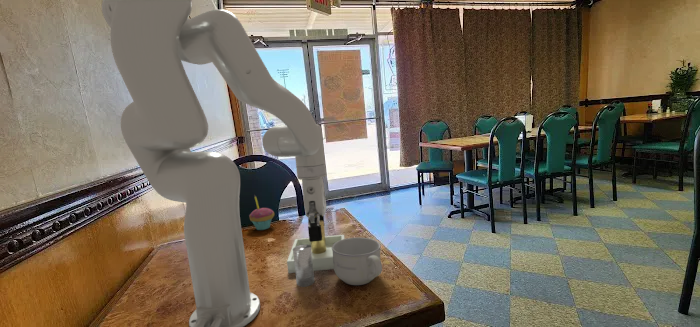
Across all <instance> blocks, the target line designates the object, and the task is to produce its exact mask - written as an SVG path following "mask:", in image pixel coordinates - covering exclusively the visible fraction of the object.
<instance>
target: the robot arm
mask: <svg viewBox="0 0 700 327" xmlns="http://www.w3.org/2000/svg"><path fill="white" fill-rule="evenodd" d="M192 7H193V0H102V2H101V13H102V16H103V18H104V20H105V23H106V24H107V25H108V26H109V28H110V34H109V35H110V46H111V53H112V56H113V59H114V62H115V64H116V67H117V70H118V71H119V74H120V76H121V78H122V80H123V83H124V84H125V86H126V89H127V91H128V93H129V95H130V97H131V99H132V100H133V101H132V102H130V103H129V104H128V105H127V106H126V107H125V108H124V110H123V112H122V114H121V116H120V131H121V134H122V137H123V139H124V141H125V144H126V146H127V147H128V149H129V150H130V152H131V154H132V155H133V157H134V159H135V160H136V162H137V164H138V166H139V167H140V169H141V171H142V172H143V174H144V175H145V178H146V179H147V181H148V182H149V184H150V185H151V187H152V189H153V190H154V191H155V192H156V193H157V194H158V195H160V196H161V197H162V198H164V199H166V200H170V201H173V202H178V203H183V204H184V203H185V204H186V205H185V206H186V207H185V215H184V220H183V234H184V236H183V237H184V241H185V246H186V247H185V248H186V252H187V259H188V264H189V265H188V266H189V271H190V276H191V283H192V288H193V289H192V290H193V295H194V296H193V297H194V301H195V307H196V309H195V310H194V311H193V312H192V314H191V315H190V317H189V319H188V320H189V321H188V325H189V327H245V326H247V325H248V324H249V323H250V322H252V321H254V319H255V318H256V316H257V315H258V314H259V312H260V309H261V301H260V298H259V296H258V295H256V294H254V293H253V292H251V290H250V282H249V275H248V268H247V261H246V252H245V246H244V245H245V244H244V237H243V232H242V225H241V224H242V223H241V217H240V215H241V214H240V194H241V174H240V170H239V169H238V166H237V165H236V163H235V162H234V160H232V159H231V158H230V157H228V156H227V155H225V154H223V153H220V152H217V151H216V152H215V151H192V150H191V148H194V147H196V146H199V145H200V144H202V143H203V142H204V141H205V139H206V138H207V137H208V133H209V123H208V119H207V117H206V113H205V111H204V109H203V107H202V105H201V103H200V101H199V98H198V96H197V95H196V92H195V90H194V88H193V86H192V83H191V81H190V79H189V77H188V75H187V73H186V69H185V67H184V65H183V62H186V63H189V64H193V65H200V66H202V65H207V64H210V63H212V64H213V65H214V66H215V68H216V70H217V71H218V73H219V74H220V75H221V77H222V78H223V80H224V81H225V83H226V84H227V86H228V87H229V89H230V90H231V92H232V93H233V95H234V97H235V98H236V99H237V100H238V101H240V102H241V103H244V104H246V105H248V106H250V107H253V108H256V109H258V110H262V111H264V112H267V113H269V114H271V115H272V116H274V117H276V118H277V119H279V120H280V121H281V122H282V123H283V124H284V125H276V126H272V127H270V128H269V129H267V130H266V131H265V132H264V134H263V136H262V146H263V149H264V150H265V152H266V153H268V154H269V155H271V156H273V157H277V158H278V157H280V158H281V157H283V158H289V157H290V158H291V157H294V159H295V166H296V175H297V179H298V180H301V184H302V186H301V188H302V196H303V197H302V198H303V206H304V212H305V214H304V215H305V217H307V223H308V224H307V231H308V238H309V241H310V242H313V241H321V240H322V232H321V225H320V220H322V221H324V222H325V217H324V216H325V215H326V213H327V212H326V210H327V200H326V199H327V198H326V194H325V193H326V191H325V183H324V178H325V177H327V169H326V159H325V150H324V149H325V148H324V139H323V130H322V127H321V125H320V124H317V123H316V121H315V119H314V117H313V115H312V113H311V111H310V110H309V108H308V107H307V106H306V104H305V103H304V102H303V101H302V100H301V99H300V98H299V97H297V96H296V95H295V94H294V93H292V92H291V91H290V90H289V89H287V88H286V87H285V86H284V85H281V84H280V83H278V82H277V81H276V80H275V79H274V78H273V77H272V75H271V73H270V72H269V70H268V69H267V66H266V65H265V63H264V62H263V60H262V58H261V56H260V54H259V53H258V51H257V49H256V48H255V45H254V44H253V42H252V40H251V39H250V37H249V35H248V33H247V31H246V30H245V28H244V26H243V25H242V23H241V21H240V20H239V18H238V17H237V16H236V15H235V14H234V13H232V12H231V11H228V10H226V9H213V10H208V11H205V12H203V13H200V14H197V15H196V16H193V17H191V18H189V17H190V16H191V12H192V9H193V8H192Z"/></svg>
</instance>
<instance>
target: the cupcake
mask: <svg viewBox="0 0 700 327" xmlns="http://www.w3.org/2000/svg"><path fill="white" fill-rule="evenodd" d="M253 196H254V200H255V204H256V209H254V210H253V211H252V212H250V213H249V215H248V216H249V217H248V218H249V220H250V222H252V223H253V225H254V227H255V230H257V231H264V230H268V229H269V228H271V223H272V219H273V218H274V217H275V211H274V210H273V209H272V208H269V207H260V206H259V201H258V198H257V196H256V195H255V194H254V195H253Z"/></svg>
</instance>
